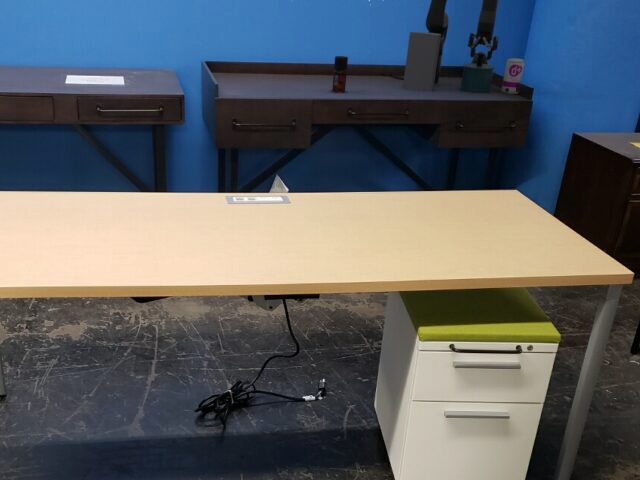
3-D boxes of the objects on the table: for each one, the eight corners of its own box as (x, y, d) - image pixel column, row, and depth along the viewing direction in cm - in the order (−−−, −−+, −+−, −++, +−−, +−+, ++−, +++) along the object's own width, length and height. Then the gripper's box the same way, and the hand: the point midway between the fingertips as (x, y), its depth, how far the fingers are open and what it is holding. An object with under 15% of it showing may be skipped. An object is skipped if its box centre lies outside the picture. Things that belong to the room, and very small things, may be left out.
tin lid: (457, 67, 369) (459, 52, 366) (473, 65, 379) (476, 50, 375) (484, 72, 361) (486, 56, 357) (500, 69, 370) (503, 54, 366)
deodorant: (346, 91, 364) (349, 56, 356) (343, 93, 359) (346, 58, 351) (333, 89, 366) (336, 55, 358) (330, 92, 361) (333, 57, 353)
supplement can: (519, 94, 371) (525, 61, 363) (501, 93, 372) (507, 60, 365) (517, 91, 378) (524, 58, 370) (500, 90, 379) (506, 57, 372)
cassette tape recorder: (434, 90, 374) (442, 33, 361) (430, 92, 369) (438, 35, 356) (406, 87, 379) (413, 31, 366) (402, 88, 374) (409, 32, 362)
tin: (454, 90, 375) (458, 66, 369) (470, 87, 383) (474, 64, 378) (479, 95, 367) (483, 70, 361) (494, 92, 375) (499, 67, 370)
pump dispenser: (477, 81, 399) (482, 50, 391) (490, 85, 391) (496, 52, 383) (461, 82, 395) (466, 50, 388) (474, 86, 387) (479, 53, 380)
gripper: (504, 22, 357) (497, 60, 365) (477, 18, 366) (471, 55, 374) (496, 23, 353) (489, 61, 361) (469, 19, 361) (462, 57, 369)
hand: (480, 58), depth 367 cm, fingers open, 8 cm apart
